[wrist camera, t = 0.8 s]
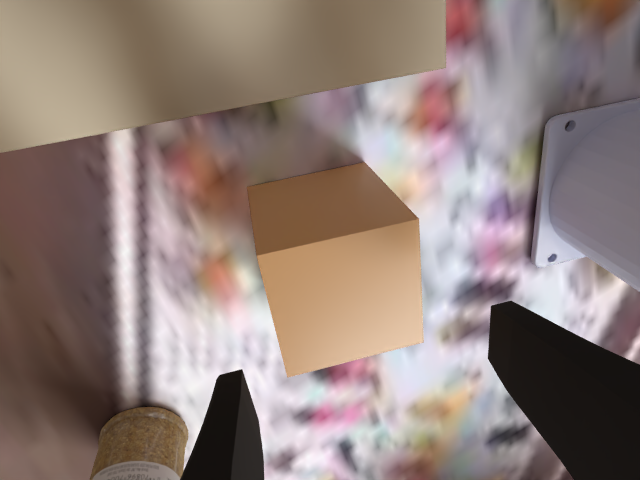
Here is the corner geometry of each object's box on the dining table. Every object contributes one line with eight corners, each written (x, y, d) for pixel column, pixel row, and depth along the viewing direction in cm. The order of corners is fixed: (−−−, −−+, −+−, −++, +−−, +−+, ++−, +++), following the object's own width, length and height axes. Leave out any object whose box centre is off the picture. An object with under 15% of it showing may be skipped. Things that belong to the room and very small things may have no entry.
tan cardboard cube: (364, 162, 19) (418, 219, 14) (374, 262, 21) (423, 342, 16) (246, 186, 18) (256, 255, 13) (271, 286, 21) (287, 377, 16)
